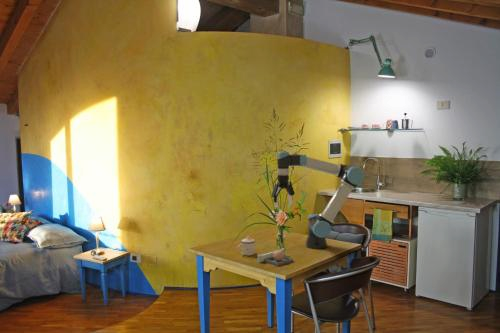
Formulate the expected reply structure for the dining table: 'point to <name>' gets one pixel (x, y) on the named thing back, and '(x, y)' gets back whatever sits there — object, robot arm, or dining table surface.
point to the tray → (278, 263)
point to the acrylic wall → (268, 255)
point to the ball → (278, 256)
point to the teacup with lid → (247, 246)
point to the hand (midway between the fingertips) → (283, 206)
